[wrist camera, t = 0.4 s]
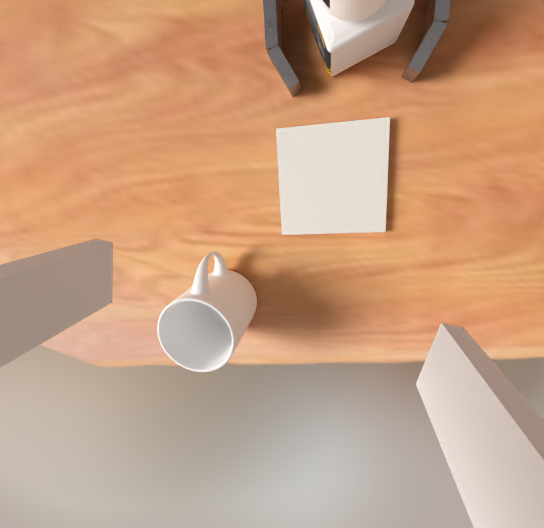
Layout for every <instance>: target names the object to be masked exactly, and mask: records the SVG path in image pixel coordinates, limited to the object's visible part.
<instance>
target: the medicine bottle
mask: <svg viewBox="0 0 544 528" xmlns="http://www.w3.org/2000/svg"><path fill="white" fill-rule="evenodd" d="M414 3H415V2H414V0H304V6H305V11H306V14H307V17H308V20H309V23H310V25H311V28H312V31H313V34H314V36H315V39H316V42H317V45H318V48H319V50H320V53H321V56H322V59H323V62H324V64H325V67H326V70H327V73H328V75H329V76H330V77H333V76H335V75H336V74H338V73H340V72H342V71H344V70H346V69H347V68H349V67H351V66H353V65H355V64H357V63H358V62H360V61H362V60H364V59H366V58H368V57H370V56H371V55H373V54H375V53H377V52H379V51H381V50H382V49H384V48H386V47H388V46H390V45H392V44H394V43H395V42H396V41H397V39H398V37H399V35H400V33H401V31H402V29H403V27H404V24H405V22H406V20H407V18H408V16H409V14H410V12H411V10H412V8H413V6H414Z"/></svg>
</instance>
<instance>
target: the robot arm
mask: <svg viewBox="0 0 544 528" xmlns="http://www.w3.org/2000/svg"><path fill="white" fill-rule="evenodd" d="M112 274H113V243H112V242H108V241H103V240H99V239H94V240H90V241H86V242H83V243H79V244H75V245H72V246H68V247H64V248H61V249H57V250H54V251H50V252H46V253H43V254H39V255H35V256H32V257H28V258H24V259H21V260H17V261H14V262H10V263H6V264H3V265H0V367H2V366H4V365H5V364H7V363H9V362H11V361H12V360H14V359H15V358H17V357H19V356H21V355H23V354H24V353H26V352H27V351H29V350H31V349H33V348H35V347H36V346H38V345H40V344H41V343H43V342H45V341H47V340H48V339H50V338H52V337H53V336H55V335H57V334H59V333H60V332H62V331H64V330H65V329H67V328H69V327H70V326H72V325H74V324H76V323H77V322H79V321H81V320H82V319H84V318H86V317H88V316H89V315H91V314H93V313H94V312H96V311H98V310H100V309H101V308H103V307H105V306H106V305H108V304H110V303H112ZM416 386H417V388H418V391H419V393H420V395H421V398H422V400H423V403H424V405H425V408H426V410H427V412H428V415H429V418H430V420H431V423H432V425H433V427H434V430H435V433H436V435H437V438H438V440H439V442H440V445H441V447H442V450H443V452H444V455H445V457H446V460H447V462H448V465H449V467H450V469H451V472H452V475H453V477H454V479H455V482H456V485H457V487H458V489H459V492H460V494H461V497H462V499H463V502H464V504H465V507H466V509H467V512H468V514H469V517H470V519H471V521H472V524H473V527H474V528H544V421H543V420H542V418H541V417H540V416H539V415H538V414H537V412H536V411H535V410H534V409H533V408H532V407H531V405H530V404H529V403H528V402H527V401H526V400H525V399H524V397H523V396H522V395H521V394H520V393H519V392H518V390H517V389H516V388H515V387H514V386H513V385H512V384H511V382H510V381H509V380H508V379H507V378H506V376H505V375H504V374H503V373H502V372H501V371H500V370H499V368H498V367H497V366H496V365H495V364H494V363H493V361H492V360H491V359H490V358H489V357H488V356H487V354H486V353H485V352H484V351H483V350H482V349H481V347H480V346H479V345H478V344H477V343H476V342H475V341H474V339H473V338H472V337H471V336H470V335H469V334H468V332H467V331H466V330H465V329H464V328H462V327H458V326H454V325H450V324H445V323H441V325H440V327H439V329H438V332H437V334H436V337H435V339H434V342H433V344H432V346H431V349H430V351H429V354H428V356H427V359H426V361H425V363H424V366H423V368H422V371H421V373H420V375H419V378H418V380H417V383H416Z"/></svg>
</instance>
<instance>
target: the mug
mask: <svg viewBox="0 0 544 528" xmlns="http://www.w3.org/2000/svg"><path fill="white" fill-rule="evenodd" d="M212 255H213V256H214V258H215V268H214V272H212V273H210V274H208V263H209V259H210V257H211V256H212ZM256 307H257V297H256V293H255V290H254V288H253V286H252V285H251V283H250V282H249V281H248V280H247V279H246V278H245V277H244V276H242V275H241V274H239V273H237V272H234V271H231V270H228V268H227V265H226V262H225V260H224V258H223V257H222V256H221V255H220V254H219V253H218V252H210V253H208V254H207V255H206V256H205V257H204V258H203V259H202V261H201V263H200V265H199V267H198V269H197V272H196V275H195V279H194V282H193V286H192V287H191V288H189V289H188V290H187V291H185V292H184V293H183V294H182V295H180V296H179V297H178V298H177V299H175V300H174V301H173V302H171V303H170V304H169V305H168V306H167V307H166V308H165V309H164V310H163V311H162V313H161V315H160V317H159V321H158V327H157V330H158V337H159V341H160V343H161V345H162V347H163V349H164V351H165V352H166V353H167V355H168V356H169V357H170V358H171V359H172V360H173V361H174V362H176V363H177V364H178V365H180V366H182V367H184V368H186V369H189V370H192V371H197V372H209V371H213V370H216V369H218V368H220V367H222V366H223V365H224V364H226V363H227V362H228V360H229V359H230V358H231V356H232V354H233V352H234V350H235V349H236V347H237V345H238V343H239V341H240V340H241V338H242V336H243V334H244V332H245V331H246V329H247V327H248V325H249V324H250V322H251V320H252V318H253V316H254V314H255V311H256Z"/></svg>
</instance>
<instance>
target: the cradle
mask: <svg viewBox="0 0 544 528" xmlns="http://www.w3.org/2000/svg"><path fill="white" fill-rule="evenodd" d="M286 1H287V0H263V7H264V23H265V40H266V49H267V51H268V52H267V53H268V55H269V57H270V59H271V61H272V63H273V65H274V66H275V68H276V70H277V71H278V73H279V75H280V76H281V78H282V80H283V81H284V83H285V85H286V86H287V88H288V90H289V91H290V93H291V95H292V97H293V96H294V95H296V94H297V93H298V92H299V91H301V90H302V88H301V85H300V82H299V80H298V78H297V77H296V75H295V73H294V72H293V70H292V68H291V66H290V65H289V63H288V61H287V60H286V58H285V56H284V54H283V53H282V32H281V13H282V11H283V8H284V6H285V3H286ZM450 2H451V0H426V16H425V31H424V37H423V39H422V40H421V42H420V44H419V46H418V48H417V49H416V51H415V53H414V55H413V57H412V59H411V60H410V62H409V64H408V66H407V68H406V69H405V71H404V73H403V75H402V78H404V79H406V80H408V81H410V82H413V80H414V79H415V78H416V77H417V76H418V74H419V73H420V72H421V70H422V68H423V67H424V65H425V63H426V61H427V60H428V58H429V56H430V54H431V53H432V51H433V49H434V47H435V46H436V44H437V42H438V40H439V39H440V37H441V35H442V33H443V32H444V30H445V28H446V26H447V24H446V23H447V22H448V20H449V15H450Z"/></svg>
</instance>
